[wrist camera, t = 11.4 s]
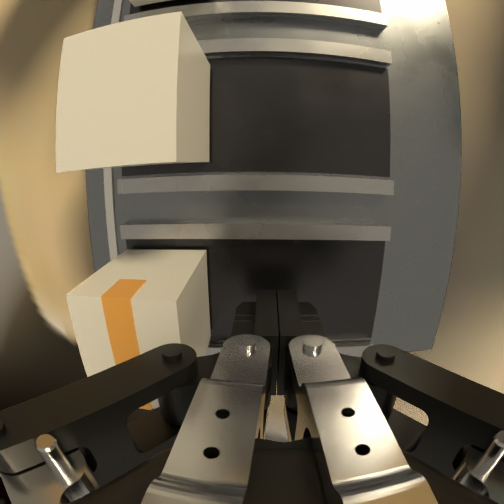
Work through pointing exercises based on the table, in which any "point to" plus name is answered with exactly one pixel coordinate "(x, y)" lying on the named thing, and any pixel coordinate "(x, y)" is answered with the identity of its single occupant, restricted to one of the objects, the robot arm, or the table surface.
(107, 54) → the handle
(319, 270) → the grey flat slotted panel
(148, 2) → the handle
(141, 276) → the block
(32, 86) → the table surface
